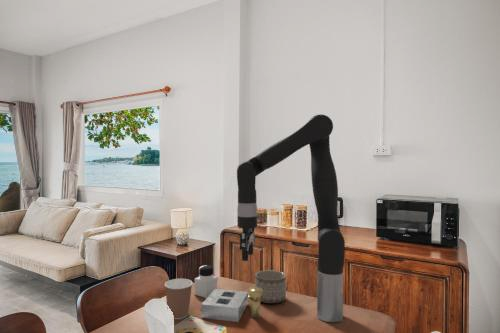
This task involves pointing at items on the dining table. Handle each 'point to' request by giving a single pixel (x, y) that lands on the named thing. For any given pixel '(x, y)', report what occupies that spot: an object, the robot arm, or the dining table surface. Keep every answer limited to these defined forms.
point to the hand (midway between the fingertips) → (247, 257)
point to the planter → (271, 285)
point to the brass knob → (255, 301)
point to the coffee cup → (178, 296)
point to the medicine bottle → (205, 281)
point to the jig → (224, 305)
